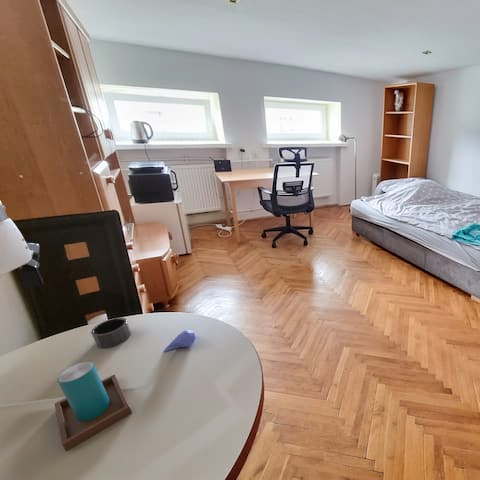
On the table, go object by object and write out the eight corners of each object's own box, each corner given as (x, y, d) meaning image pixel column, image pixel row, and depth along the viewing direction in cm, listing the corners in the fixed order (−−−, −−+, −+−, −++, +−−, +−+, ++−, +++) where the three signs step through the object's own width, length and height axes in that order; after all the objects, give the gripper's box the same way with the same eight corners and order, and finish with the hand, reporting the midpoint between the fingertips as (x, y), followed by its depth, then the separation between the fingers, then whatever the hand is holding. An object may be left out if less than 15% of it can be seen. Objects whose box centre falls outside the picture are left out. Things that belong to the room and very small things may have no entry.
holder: (90, 351, 80) (83, 337, 79) (108, 332, 88) (103, 319, 86) (121, 347, 82) (116, 333, 80) (137, 329, 89) (132, 316, 87)
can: (70, 423, 60) (48, 384, 56) (88, 400, 65) (70, 362, 61) (100, 419, 61) (81, 380, 57) (116, 396, 66) (100, 359, 62)
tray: (57, 409, 64) (54, 403, 63) (117, 380, 71) (114, 374, 70) (66, 451, 55) (62, 444, 55) (132, 412, 63) (129, 406, 62)
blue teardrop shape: (204, 337, 85) (191, 328, 87) (191, 331, 80) (178, 322, 83) (184, 363, 81) (171, 353, 84) (170, 358, 77) (156, 348, 79)
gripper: (-2, 206, 60) (31, 277, 66) (-115, 234, 44) (-58, 325, 50) (39, 205, 61) (67, 276, 67) (-57, 232, 45) (-8, 321, 51)
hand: (14, 296), depth 59 cm, fingers open, 9 cm apart
